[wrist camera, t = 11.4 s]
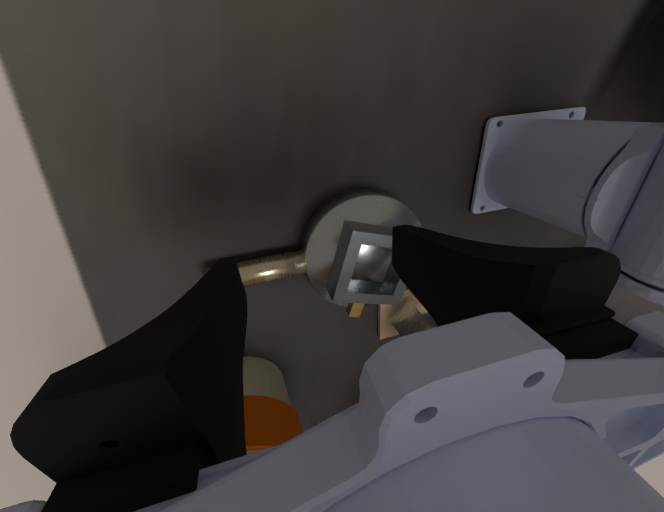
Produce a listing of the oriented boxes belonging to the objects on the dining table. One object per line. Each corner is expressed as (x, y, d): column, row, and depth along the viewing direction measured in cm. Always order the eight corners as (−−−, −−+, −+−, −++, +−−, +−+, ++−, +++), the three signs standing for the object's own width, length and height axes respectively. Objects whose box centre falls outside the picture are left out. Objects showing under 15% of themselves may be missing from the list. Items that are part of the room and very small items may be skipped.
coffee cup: (520, 288, 33) (690, 403, 20) (590, 239, 32) (816, 328, 19) (534, 328, 38) (678, 440, 25) (595, 287, 37) (777, 382, 24)
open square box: (412, 230, 21) (426, 240, 20) (380, 311, 25) (389, 326, 23) (344, 220, 19) (353, 230, 18) (319, 309, 23) (325, 326, 21)
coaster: (431, 280, 28) (434, 283, 28) (426, 322, 31) (429, 326, 31) (378, 292, 27) (380, 296, 27) (378, 335, 30) (380, 339, 30)
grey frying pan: (412, 179, 22) (428, 186, 20) (405, 278, 27) (418, 293, 25) (188, 214, 19) (180, 227, 17) (227, 319, 24) (224, 339, 22)
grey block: (430, 311, 30) (475, 361, 24) (412, 330, 30) (451, 384, 24) (400, 292, 27) (441, 344, 21) (381, 313, 28) (415, 369, 22)
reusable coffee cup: (165, 349, 24) (68, 618, 11) (304, 337, 28) (348, 533, 15) (181, 432, 30) (128, 675, 17) (295, 414, 33) (322, 603, 21)
